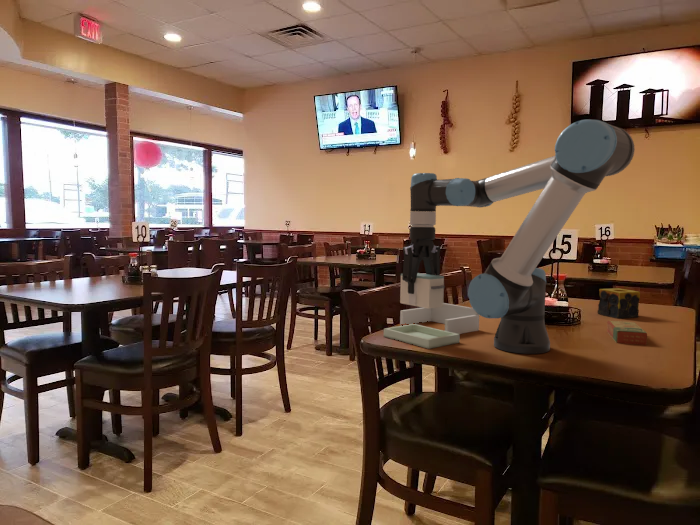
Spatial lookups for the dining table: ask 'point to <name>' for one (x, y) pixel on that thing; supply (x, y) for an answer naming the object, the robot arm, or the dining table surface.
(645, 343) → the carton
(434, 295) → the mint-topped white block
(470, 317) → the bay
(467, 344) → the dining table surface
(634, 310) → the yellow and blue cube
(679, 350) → the dining table surface
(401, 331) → the tray
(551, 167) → the robot arm
